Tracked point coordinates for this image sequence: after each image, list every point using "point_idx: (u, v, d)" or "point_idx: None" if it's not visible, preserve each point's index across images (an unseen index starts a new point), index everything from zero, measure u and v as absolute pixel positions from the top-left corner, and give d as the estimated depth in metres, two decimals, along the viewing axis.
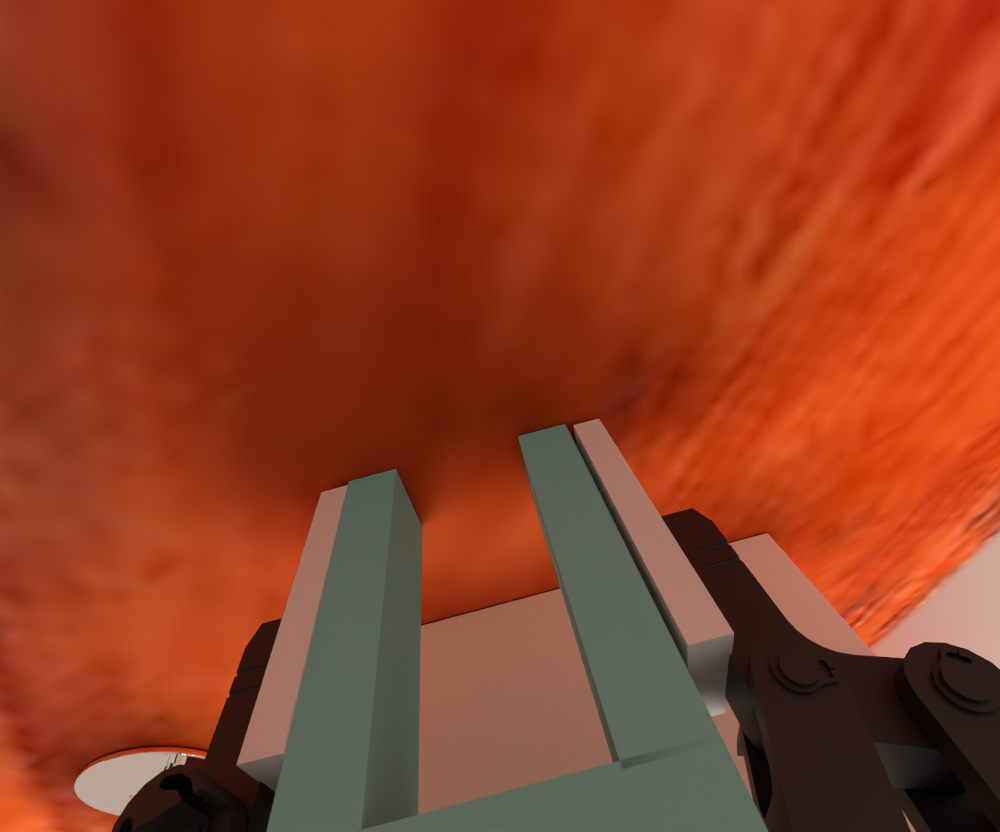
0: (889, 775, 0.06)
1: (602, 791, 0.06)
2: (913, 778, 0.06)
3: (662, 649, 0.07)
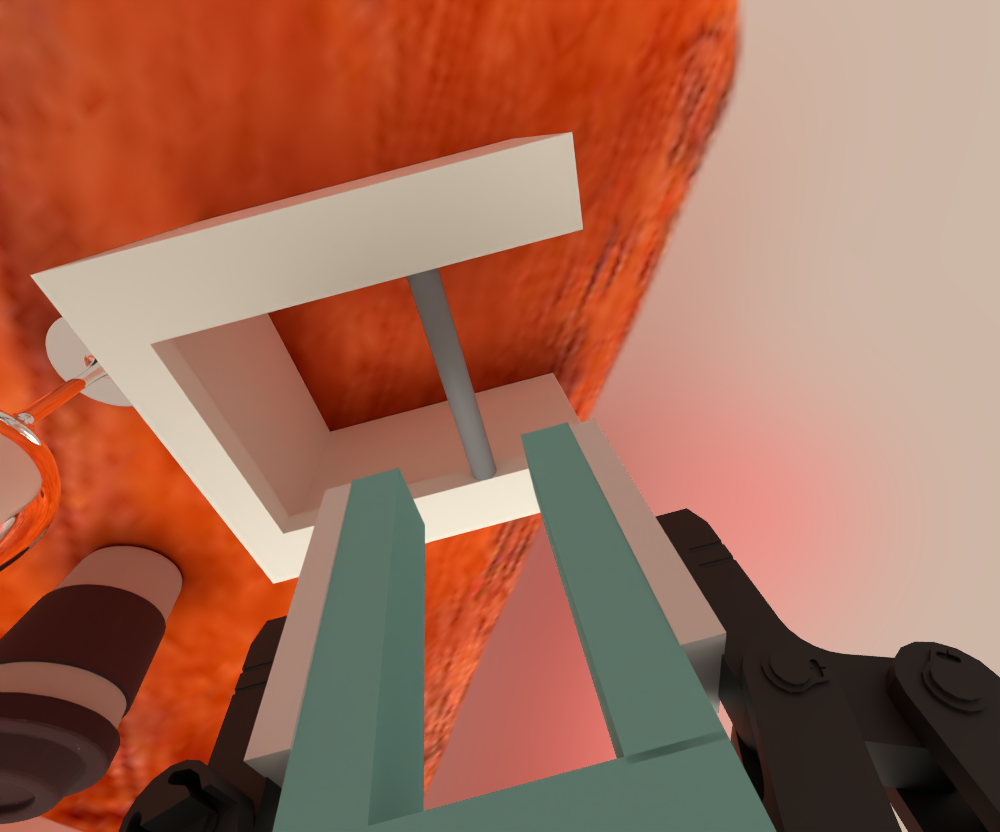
0: (879, 773, 0.06)
1: (607, 787, 0.06)
2: (904, 777, 0.06)
3: (666, 646, 0.07)
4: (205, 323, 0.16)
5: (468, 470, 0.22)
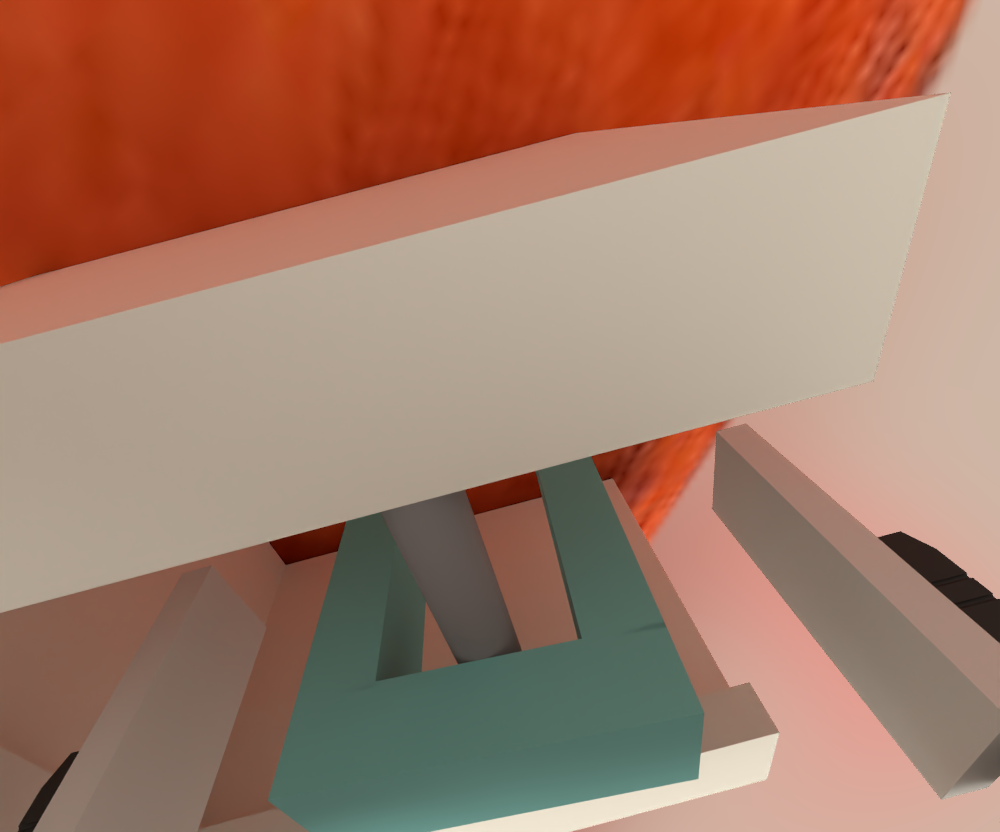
0: None
1: (566, 658, 0.07)
2: None
3: (626, 564, 0.08)
4: None
5: None
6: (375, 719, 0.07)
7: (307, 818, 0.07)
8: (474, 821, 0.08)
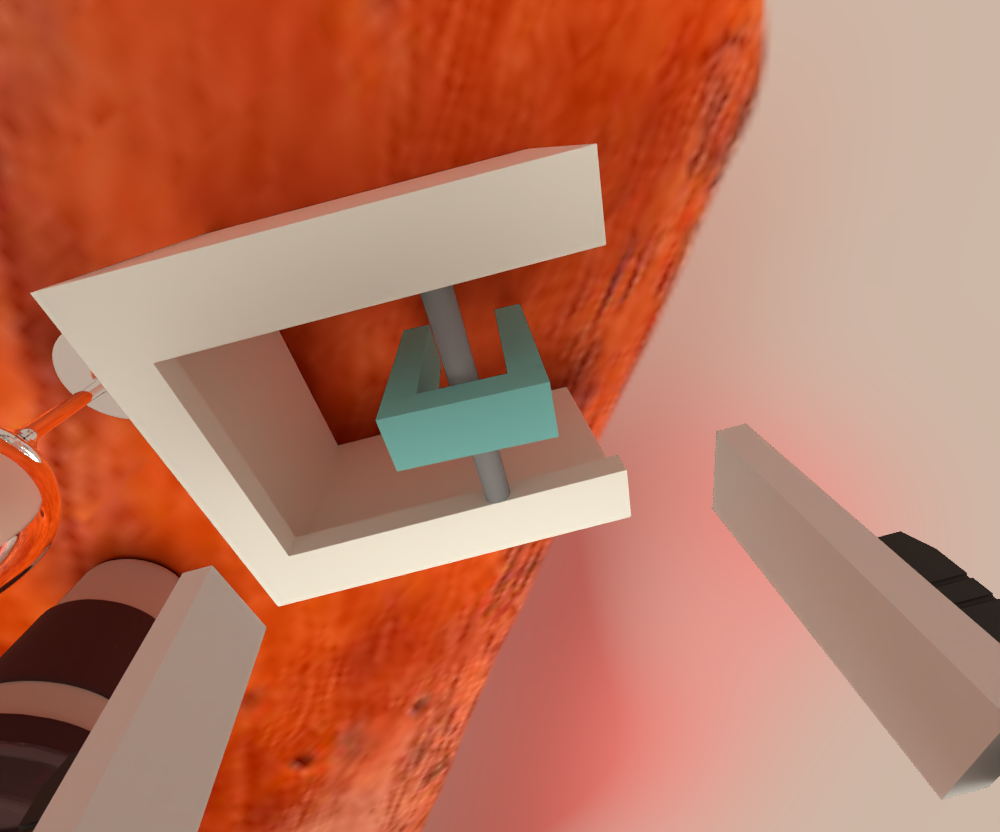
0: None
1: (499, 378, 0.17)
2: None
3: (533, 353, 0.18)
4: (210, 342, 0.15)
5: (480, 491, 0.21)
6: (417, 400, 0.17)
7: (388, 439, 0.16)
8: (459, 456, 0.17)
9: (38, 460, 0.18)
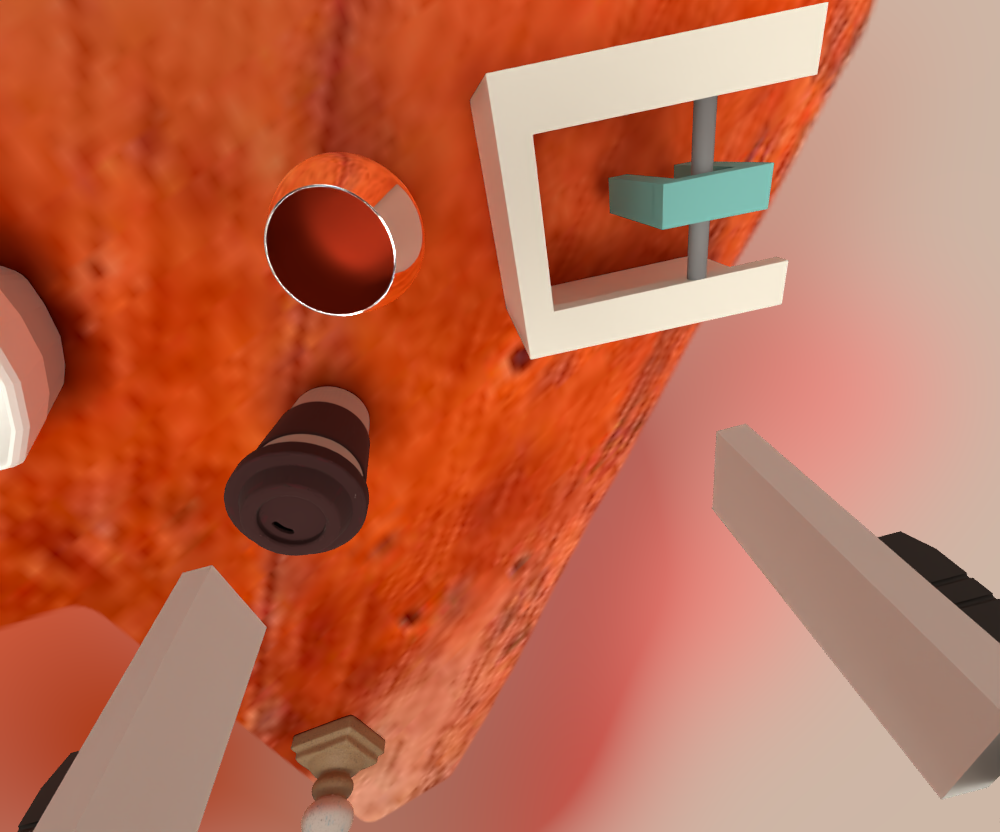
0: None
1: (732, 168, 0.26)
2: None
3: (742, 162, 0.27)
4: (571, 122, 0.24)
5: (681, 278, 0.30)
6: (682, 178, 0.25)
7: (666, 201, 0.25)
8: (703, 220, 0.26)
9: None
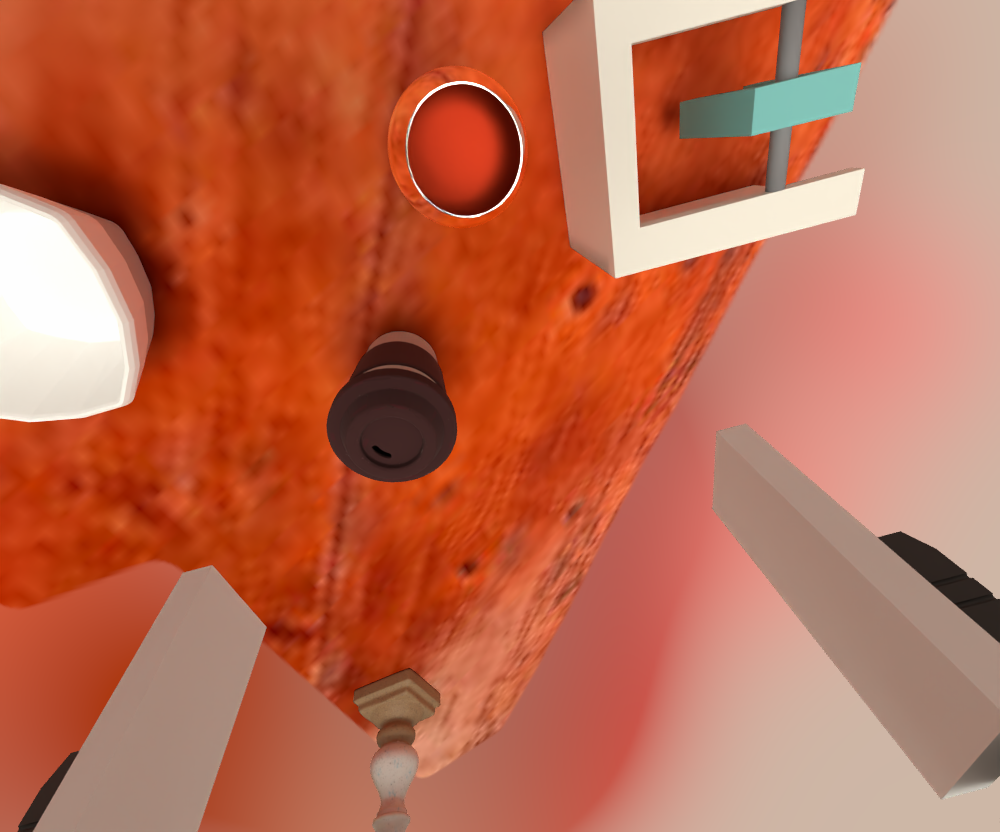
0: None
1: (818, 72, 0.27)
2: None
3: None
4: (668, 29, 0.25)
5: (759, 192, 0.31)
6: (771, 83, 0.27)
7: (756, 106, 0.26)
8: (791, 125, 0.27)
9: None
